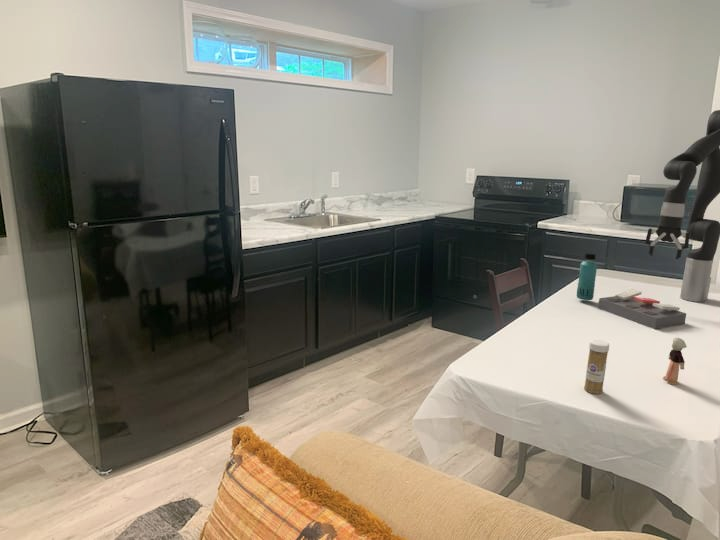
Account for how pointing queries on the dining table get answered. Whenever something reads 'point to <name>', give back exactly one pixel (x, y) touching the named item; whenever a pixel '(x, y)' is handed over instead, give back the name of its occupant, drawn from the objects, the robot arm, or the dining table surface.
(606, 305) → the power strip
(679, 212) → the robot arm
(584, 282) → the beverage bottle
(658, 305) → the grey rocker far end
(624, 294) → the grey rocker near bottle
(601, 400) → the dining table surface
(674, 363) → the grandmother figurine
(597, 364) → the sprinkles bottle
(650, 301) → the block
